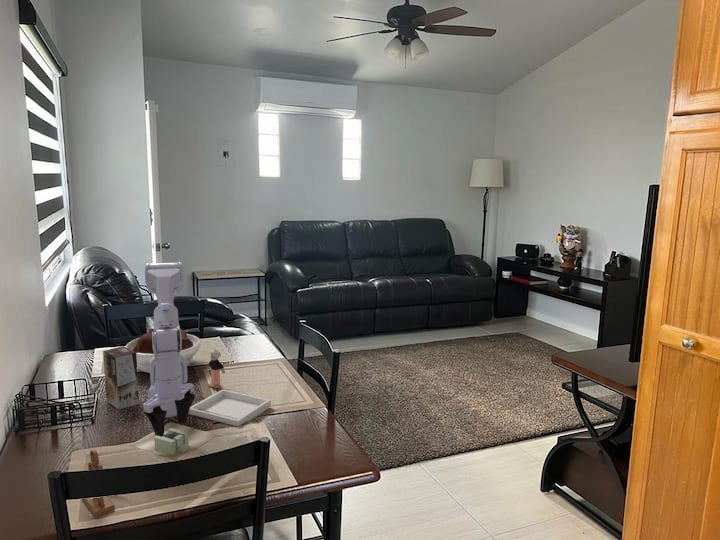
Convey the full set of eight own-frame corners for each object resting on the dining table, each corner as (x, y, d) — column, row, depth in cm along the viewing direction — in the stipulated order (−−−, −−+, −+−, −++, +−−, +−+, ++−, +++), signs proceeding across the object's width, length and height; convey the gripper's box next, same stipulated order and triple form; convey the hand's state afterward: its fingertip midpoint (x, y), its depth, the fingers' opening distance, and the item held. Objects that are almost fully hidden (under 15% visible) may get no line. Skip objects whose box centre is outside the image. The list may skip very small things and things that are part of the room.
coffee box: (140, 403, 157) (137, 352, 154) (118, 410, 152) (115, 357, 149) (127, 395, 163) (124, 345, 160) (105, 401, 158) (102, 350, 155)
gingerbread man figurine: (81, 497, 111) (77, 445, 109) (100, 490, 113) (97, 439, 111) (94, 517, 104) (90, 462, 102) (115, 509, 107) (111, 455, 105)
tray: (187, 416, 149) (187, 408, 148) (223, 396, 163) (223, 389, 162) (238, 429, 142) (237, 421, 141) (270, 407, 156) (270, 399, 155)
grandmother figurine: (202, 387, 170) (201, 349, 168) (210, 383, 174) (208, 346, 171) (222, 391, 167) (221, 353, 165) (229, 386, 171) (228, 349, 169)
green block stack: (154, 449, 129) (154, 437, 128) (171, 439, 134) (171, 427, 133) (177, 456, 126) (176, 443, 125) (193, 445, 131) (193, 433, 130)
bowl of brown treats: (216, 365, 190) (215, 325, 187) (157, 387, 169) (154, 343, 166) (171, 352, 203) (169, 315, 200) (111, 371, 182) (108, 330, 179)
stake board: (129, 448, 131) (128, 431, 130) (171, 425, 143) (170, 409, 142) (178, 464, 124) (178, 446, 123) (217, 438, 137) (217, 421, 136)
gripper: (158, 389, 119) (161, 445, 121) (202, 369, 132) (203, 420, 134) (135, 384, 122) (138, 438, 124) (180, 365, 135) (182, 414, 137)
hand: (171, 428), depth 129 cm, fingers open, 7 cm apart
